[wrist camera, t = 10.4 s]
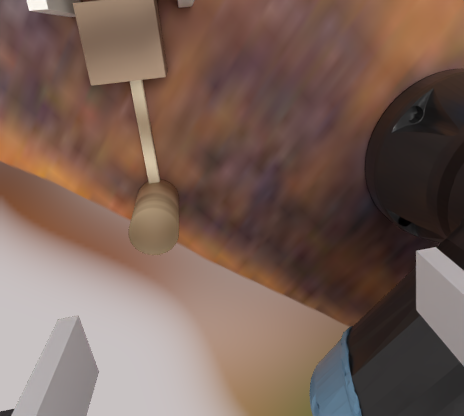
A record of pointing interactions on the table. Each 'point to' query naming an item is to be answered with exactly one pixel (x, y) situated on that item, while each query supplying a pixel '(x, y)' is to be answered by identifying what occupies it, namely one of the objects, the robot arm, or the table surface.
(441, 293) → the robot arm
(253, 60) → the table surface
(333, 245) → the table surface
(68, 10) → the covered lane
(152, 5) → the block
